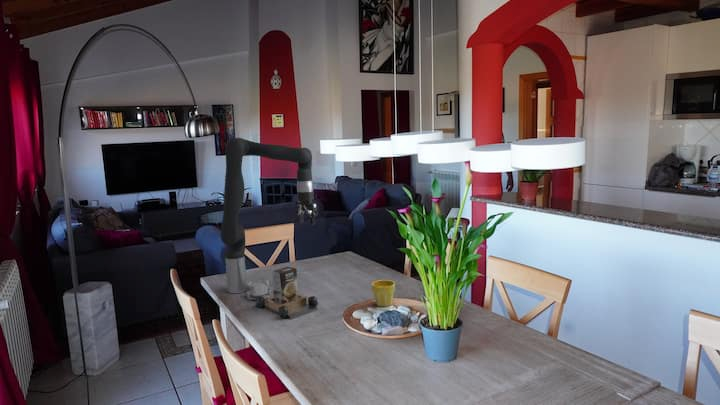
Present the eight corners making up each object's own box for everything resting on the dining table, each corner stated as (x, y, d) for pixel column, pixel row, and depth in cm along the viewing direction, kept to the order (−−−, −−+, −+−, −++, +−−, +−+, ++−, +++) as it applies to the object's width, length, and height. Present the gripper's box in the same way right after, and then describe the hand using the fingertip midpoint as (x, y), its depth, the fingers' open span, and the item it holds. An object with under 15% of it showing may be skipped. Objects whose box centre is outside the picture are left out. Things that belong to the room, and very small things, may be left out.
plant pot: (368, 306, 220) (367, 285, 219) (378, 299, 229) (377, 278, 228) (389, 310, 215) (389, 288, 214) (399, 302, 224) (398, 281, 223)
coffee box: (283, 309, 218) (281, 273, 216) (273, 305, 222) (271, 270, 220) (299, 302, 225) (297, 268, 222) (289, 300, 229) (287, 265, 226)
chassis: (254, 305, 227) (253, 295, 226) (285, 295, 238) (285, 285, 238) (287, 320, 208) (287, 308, 207) (320, 309, 220) (319, 298, 219)
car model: (269, 285, 257) (269, 275, 256) (271, 300, 234) (271, 290, 233) (247, 287, 255) (246, 277, 254) (247, 303, 231) (246, 292, 231)
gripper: (289, 190, 240) (291, 223, 242) (308, 192, 229) (309, 227, 232) (302, 188, 245) (304, 221, 247) (320, 190, 234) (322, 224, 237)
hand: (307, 224), depth 240 cm, fingers open, 8 cm apart
